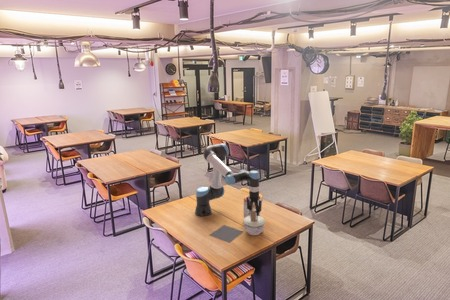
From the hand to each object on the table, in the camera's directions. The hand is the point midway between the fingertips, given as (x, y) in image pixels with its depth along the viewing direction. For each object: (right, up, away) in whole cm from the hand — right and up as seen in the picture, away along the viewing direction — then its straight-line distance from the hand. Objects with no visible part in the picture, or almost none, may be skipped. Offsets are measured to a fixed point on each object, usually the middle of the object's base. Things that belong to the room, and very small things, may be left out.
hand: (254, 218), depth 244 cm
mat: (-22, -13, +2) cm, 25 cm away
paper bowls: (0, -12, +3) cm, 13 cm away
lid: (0, -3, +1) cm, 3 cm away
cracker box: (0, -7, +25) cm, 25 cm away
